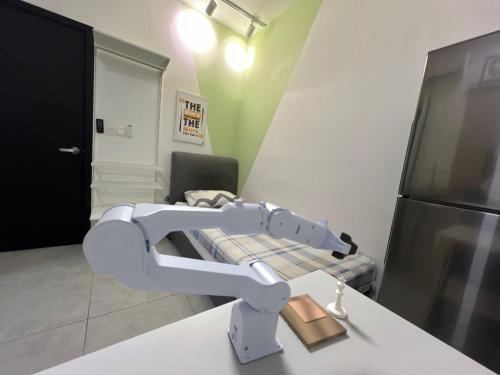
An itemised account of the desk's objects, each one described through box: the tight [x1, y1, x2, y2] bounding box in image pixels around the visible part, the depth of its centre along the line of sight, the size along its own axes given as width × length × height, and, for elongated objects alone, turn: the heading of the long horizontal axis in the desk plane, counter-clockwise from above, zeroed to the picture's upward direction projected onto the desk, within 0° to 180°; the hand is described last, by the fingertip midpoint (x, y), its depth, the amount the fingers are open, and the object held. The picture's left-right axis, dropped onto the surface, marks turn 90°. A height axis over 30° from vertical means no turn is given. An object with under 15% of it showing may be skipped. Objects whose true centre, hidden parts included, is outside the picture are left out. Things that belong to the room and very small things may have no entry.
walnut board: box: [279, 293, 348, 349], centre depth 50 cm, size 12×14×1 cm
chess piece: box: [326, 276, 347, 319], centre depth 54 cm, size 5×5×10 cm
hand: (341, 243), depth 50 cm, fingers open, 7 cm apart
